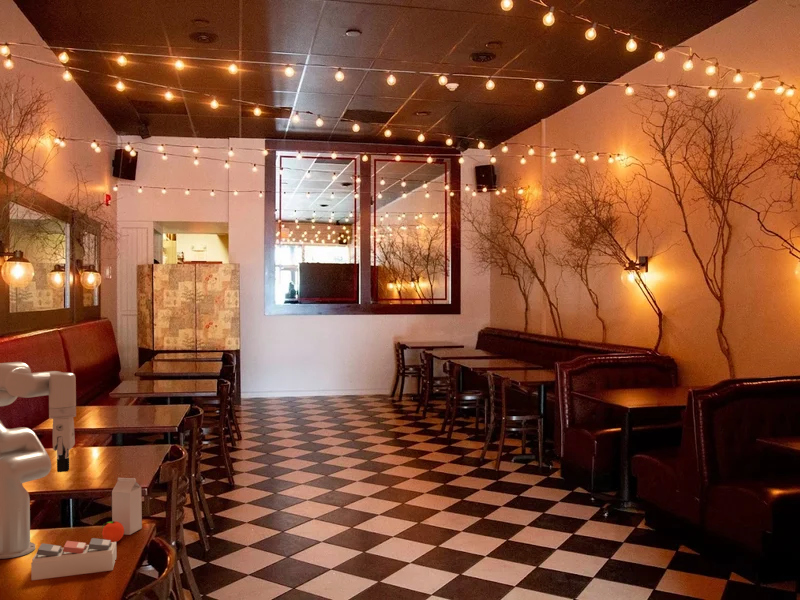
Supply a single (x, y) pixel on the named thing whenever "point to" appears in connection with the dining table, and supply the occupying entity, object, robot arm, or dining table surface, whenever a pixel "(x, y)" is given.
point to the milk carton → (127, 504)
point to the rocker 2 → (99, 544)
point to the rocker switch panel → (73, 563)
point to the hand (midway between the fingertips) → (63, 471)
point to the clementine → (113, 531)
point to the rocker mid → (74, 547)
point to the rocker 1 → (49, 550)
